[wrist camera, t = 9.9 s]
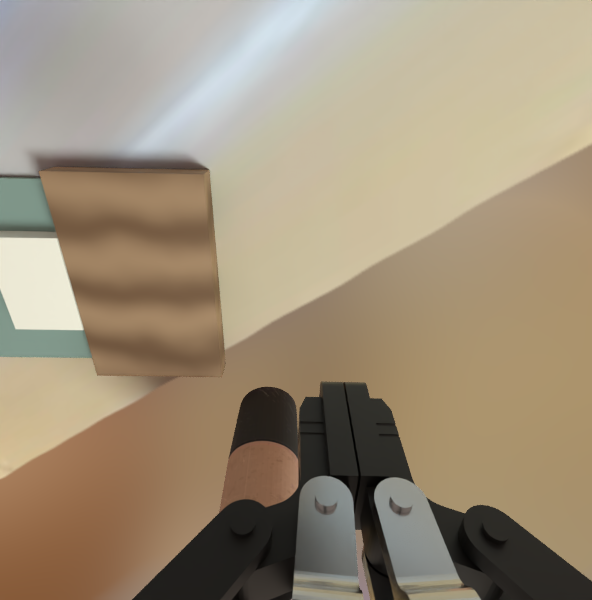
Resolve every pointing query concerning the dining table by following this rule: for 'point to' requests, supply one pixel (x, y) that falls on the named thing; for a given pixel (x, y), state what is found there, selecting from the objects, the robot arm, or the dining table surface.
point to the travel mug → (263, 452)
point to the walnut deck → (141, 267)
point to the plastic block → (37, 282)
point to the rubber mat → (3, 336)
